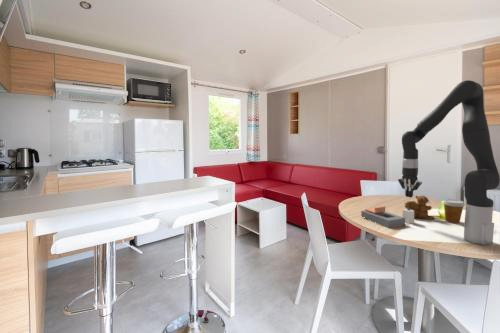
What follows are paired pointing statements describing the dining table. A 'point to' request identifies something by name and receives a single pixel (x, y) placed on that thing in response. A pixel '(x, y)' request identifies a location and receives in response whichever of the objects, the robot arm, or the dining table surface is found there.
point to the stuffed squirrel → (419, 207)
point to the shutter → (376, 209)
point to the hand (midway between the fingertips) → (408, 196)
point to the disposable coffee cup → (453, 210)
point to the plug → (408, 215)
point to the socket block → (384, 218)
